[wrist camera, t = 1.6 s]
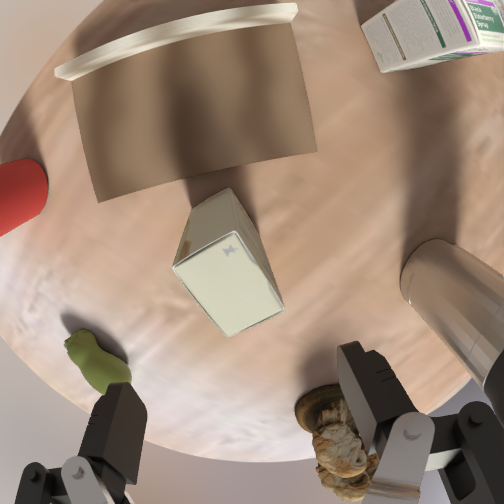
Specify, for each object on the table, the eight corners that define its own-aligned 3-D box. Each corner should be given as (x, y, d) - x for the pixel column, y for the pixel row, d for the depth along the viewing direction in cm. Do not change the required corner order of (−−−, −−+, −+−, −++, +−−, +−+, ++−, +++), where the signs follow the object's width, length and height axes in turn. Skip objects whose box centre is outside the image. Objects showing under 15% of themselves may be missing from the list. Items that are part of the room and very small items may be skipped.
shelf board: (283, 20, 20) (294, -1, 16) (311, 150, 26) (328, 154, 21) (79, 74, 20) (54, 66, 16) (106, 198, 26) (84, 211, 21)
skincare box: (189, 208, 27) (164, 263, 16) (230, 184, 26) (232, 223, 15) (225, 262, 29) (226, 342, 18) (263, 241, 29) (287, 312, 17)
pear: (109, 410, 30) (51, 355, 28) (123, 385, 35) (71, 335, 33) (130, 395, 28) (66, 335, 27) (144, 369, 34) (88, 314, 32)
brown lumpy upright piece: (387, 407, 43) (421, 480, 27) (334, 439, 45) (357, 512, 30) (340, 369, 37) (382, 472, 21) (275, 410, 39) (293, 510, 24)
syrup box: (379, 74, 23) (483, 50, 9) (357, 24, 21) (444, -30, 7) (419, 68, 22) (521, 53, 9) (399, 20, 20) (490, -18, 7)
